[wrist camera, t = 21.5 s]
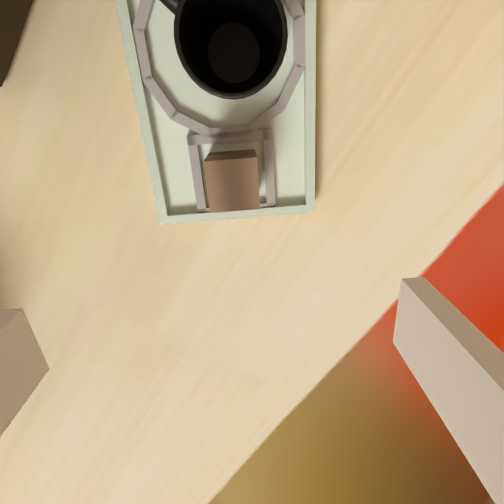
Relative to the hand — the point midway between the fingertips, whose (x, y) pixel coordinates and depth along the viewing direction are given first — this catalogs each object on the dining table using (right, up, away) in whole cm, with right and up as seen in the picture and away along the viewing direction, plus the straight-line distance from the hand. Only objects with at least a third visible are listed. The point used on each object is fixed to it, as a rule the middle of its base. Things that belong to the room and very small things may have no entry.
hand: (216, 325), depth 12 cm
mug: (-2, +23, +20) cm, 31 cm away
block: (-1, +11, +25) cm, 28 cm away
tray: (-1, +19, +23) cm, 30 cm away
